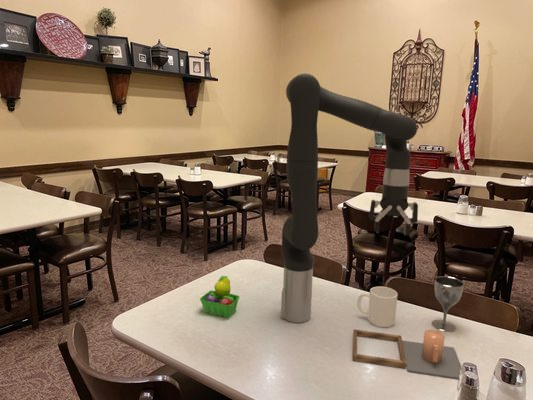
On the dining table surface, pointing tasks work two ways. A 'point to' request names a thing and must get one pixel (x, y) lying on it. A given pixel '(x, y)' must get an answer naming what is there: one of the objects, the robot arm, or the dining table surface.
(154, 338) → the dining table surface
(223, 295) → the fruit basket
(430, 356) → the orange mug
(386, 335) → the walnut frame
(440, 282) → the wine glass
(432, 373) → the rubber mat
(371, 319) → the cup
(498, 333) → the dining table surface
